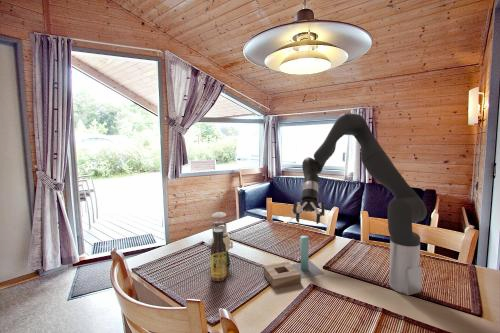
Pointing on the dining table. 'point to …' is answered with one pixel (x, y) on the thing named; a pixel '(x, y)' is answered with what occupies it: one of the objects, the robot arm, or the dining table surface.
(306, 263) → the peg
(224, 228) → the french press
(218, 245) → the sauce bottle
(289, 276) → the socket block
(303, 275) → the mat
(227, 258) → the character mug
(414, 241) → the robot arm
